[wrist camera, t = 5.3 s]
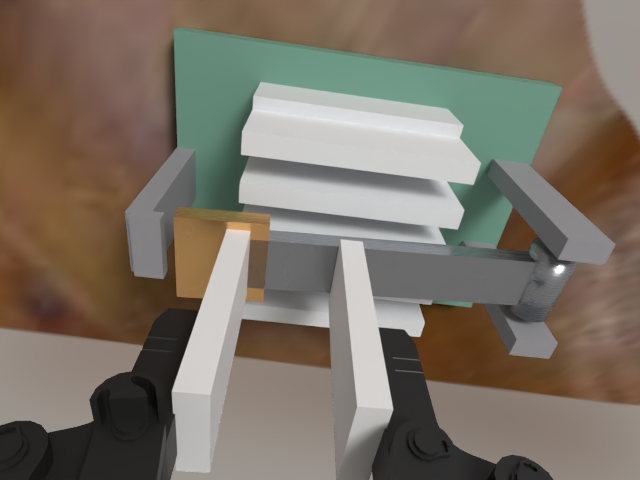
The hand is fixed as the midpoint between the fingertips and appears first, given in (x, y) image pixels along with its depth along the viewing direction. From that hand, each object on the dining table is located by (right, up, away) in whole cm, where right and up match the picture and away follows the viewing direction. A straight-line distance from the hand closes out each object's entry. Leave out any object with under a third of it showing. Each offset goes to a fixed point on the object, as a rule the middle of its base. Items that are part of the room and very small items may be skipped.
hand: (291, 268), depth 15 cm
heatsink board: (+2, +4, +7) cm, 8 cm away
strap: (+3, 0, +1) cm, 3 cm away
